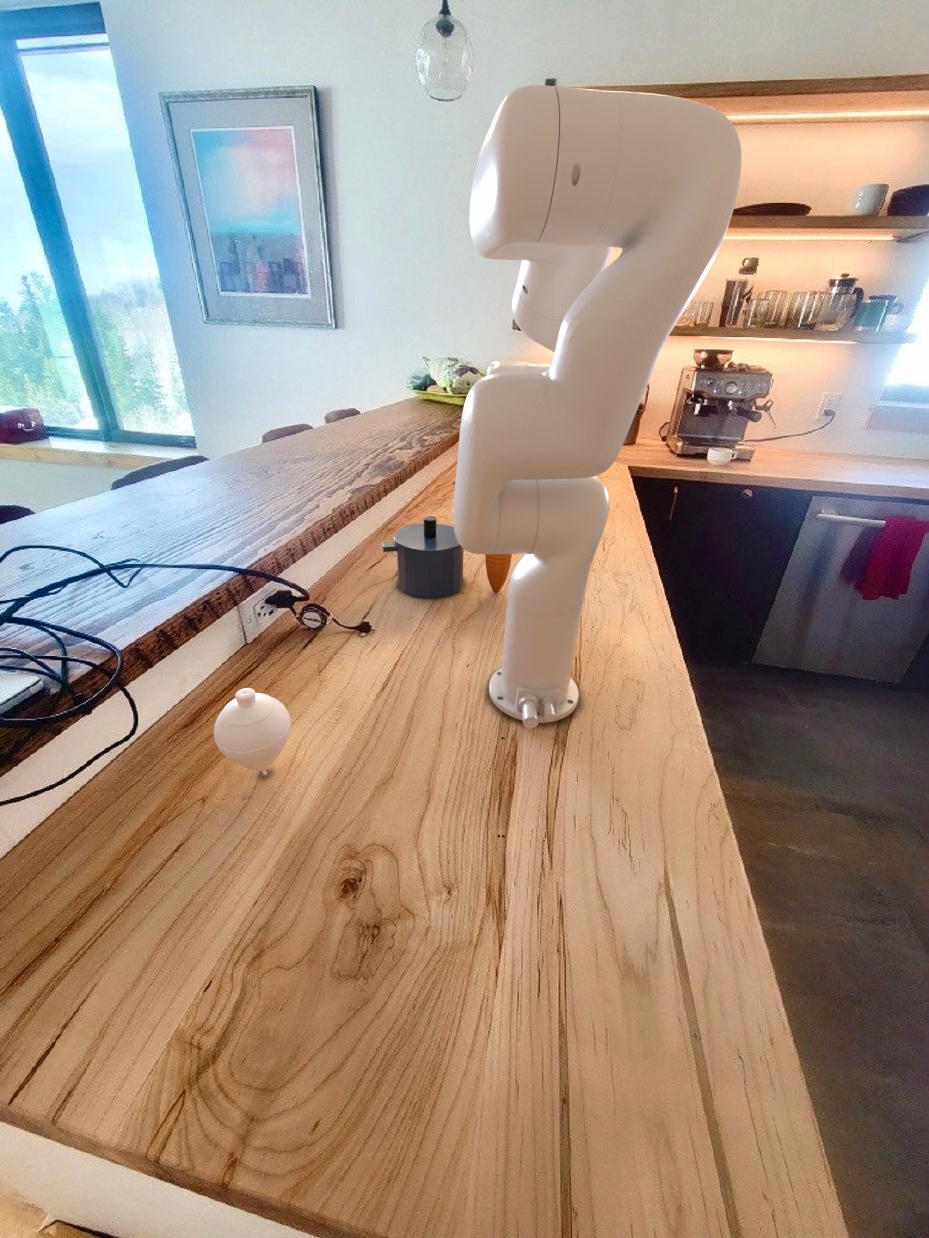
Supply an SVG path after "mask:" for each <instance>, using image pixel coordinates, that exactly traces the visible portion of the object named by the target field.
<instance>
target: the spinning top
mask: <svg viewBox="0 0 929 1238" xmlns="http://www.w3.org/2000/svg"><path fill="white" fill-rule="evenodd" d="M291 720H292V719H291V716H290V712H289V711H288V709H287V707H286V706H285V705H284V704H283V703H282V702H281V701H280V700H278V699H277V698H274V697H272V696H270V695H269V694H267V693H261V692H256V690H254V689H253V688H251V687H244V688H241V689H239V690H238V691H236V693H235V695H234V698H233V699H232V700H230V701H229V702H228V703H227V704H226V705H225V706H224V707H223V709H222V710H221V711H220V713H219V714H218V716H217V718H216V720H215V723H214V726H213V738H214V739H213V740H214V742H215V745H216V747H217V748H218V750H219V751H220V752H221V753H222V754H223V755H224V756H225V757H226V758H227V759H229V760H230V761H232V762H233V763H235V764H237V765H238V766H241V767H244V768H247V769H250V770H253V771H259V772H262V775H263V776H266V775H267V770H268V769H269V768H270V767H271V766H272V764H273V763H274V762H276V760H277V759H278V757H279V756H280V754H281V753H282V752H283V750H284V748H285V746H286V745H287V742H288V739H289V737H290V734H291V728H292V723H291V722H292V721H291Z"/></svg>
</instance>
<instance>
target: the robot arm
mask: <svg viewBox="0 0 929 1238" xmlns="http://www.w3.org/2000/svg"><path fill="white" fill-rule="evenodd" d="M741 174H742V147H741V141H740V138H739V134H738V131H737V129H736V127H735V126H734V123H733V122H732V121H731V120H730V119H729V118H728V117H727V116H726V115H725V114H724V113H722V112H721V111H719V109H716V108H715V107H713V106H710V105H708V104H706V103H703V102H700V101H697V100H692V99H689V98H684V97H679V96H673V95H666V94H659V93H658V94H657V93H650V92H649V93H648V92H639V91H638V92H637V91H636V92H635V91H617V90H604V89H603V90H602V89H592V88H581V87H580V88H579V87H570V86H558V85H526V86H522V87H518V88H516V89H514V90H513V91H512V90H511V92H509V93H508V94H507V95H506V96H505V98H504V99H503V100H502V102H501V103H500V105H499V107H498V108H497V111H496V113H495V115H494V118H493V119H492V122H491V124H490V127H489V129H488V132H487V134H486V136H485V139H484V142H483V144H482V147H481V150H480V152H479V155H478V159H477V162H476V167H475V169H474V174H473V180H472V184H471V190H470V197H469V198H470V199H469V231H470V236H471V241H472V244H473V247H474V249H475V251H476V253H478V255H479V256H481V257H482V258H484V259H489V260H504V261H506V260H507V261H521V263H520V267H519V271H518V275H517V279H516V284H515V287H514V290H513V295H512V301H511V312H512V317H513V320H514V322H515V323H516V326H517V327H518V328H519V329H520V331H521V332H522V333H523V334H524V335H525V336H526V337H528V339H530V340H532V341H533V342H535V343H536V344H538V345H540V346H542V347H544V348H546V350H547V349H548V350H549V351H551V352H554V354H553V358H552V361H551V363H530V362H528V361H522V360H510V359H509V360H507V359H503V360H494V361H492V362H491V363H490V364H489V365H488V367H487V371H486V375H485V376H482V377H481V378H480V379H478V380H477V381H476V382H475V383H474V384H473V385H472V386H471V388H470V389H469V391H468V393H467V395H466V398H465V401H464V404H463V407H462V413H461V420H460V426H459V427H460V428H459V437H458V448H457V460H456V469H455V482H454V491H453V492H454V493H453V503H452V505H453V506H452V527H454V532H455V536H456V539H457V541H458V543H459V544H460V545H461V547H462V548H464V551H466V552H468V553H471V554H476V555H486V554H512V555H523V556H522V557H521V559H520V560H519V561H518V563H517V564H516V566H515V567H514V568H513V571H512V573H511V576H510V578H509V582H508V588H507V599H506V600H507V601H506V612H505V624H504V635H503V646H502V647H503V648H502V657H501V658H502V660H501V667H500V668H498V669H497V670H496V671H495V672H493V674H492V676H491V677H490V679H489V683H488V694H489V698H490V700H491V702H492V703H493V704H494V705H495V707H496V708H497V709H499V711H500V712H502V713H503V714H505V715H507V716H509V717H511V718H514V719H515V720H519V721H522V724H523V725H522V726H523V727H525V728H526V729H529V730H530V729H535V728H536V727H538V725H539V724H546V723H552V722H557V721H560V720H562V719H564V718H567V717H568V716H570V715H571V714H572V713H573V712H574V711H575V709H576V708H577V705H578V702H579V697H580V693H579V688H578V686H577V683H576V682H575V680H574V679H573V678H572V677H571V676H572V671H573V665H574V659H575V653H576V649H577V643H578V642H577V641H578V636H579V631H580V626H581V618H582V615H583V614H582V613H583V608H584V603H585V598H586V597H585V596H586V592H587V587H588V581H589V576H590V572H591V569H592V565H593V562H594V557H595V555H596V552H597V549H598V547H599V544H600V541H601V539H602V536H603V534H604V532H605V528H606V525H607V523H608V518H609V512H610V497H609V492H608V490H607V488H606V486H605V484H604V482H603V481H602V480H601V479H600V478H599V476H600V475H602V474H604V473H606V472H607V471H608V470H609V469H610V468H611V467H612V466H613V464H614V462H615V461H616V460H617V458H618V456H619V454H620V452H621V450H622V447H623V445H624V443H625V441H626V438H627V436H628V433H629V431H630V428H631V426H632V423H633V421H634V418H635V416H636V414H637V411H638V409H639V406H640V404H641V402H642V399H643V396H644V394H645V392H646V389H647V387H648V385H649V382H650V379H651V377H652V375H653V372H654V368H655V366H656V363H657V361H658V358H659V357H660V354H661V352H662V350H663V348H664V345H665V344H666V341H667V340H668V338H669V336H670V335H671V332H672V331H673V329H674V328H675V326H676V324H677V323H678V321H679V320H680V318H681V317H682V315H683V313H684V311H685V310H686V308H687V307H688V306H689V304H690V302H691V301H692V299H693V298H694V296H695V295H696V293H697V291H698V290H699V288H700V286H701V285H702V283H703V281H704V279H705V278H706V276H707V274H708V273H709V272H710V271H709V270H710V269H711V267H712V265H713V263H714V262H715V259H716V257H717V255H718V253H719V251H720V248H721V246H722V243H723V241H724V239H725V237H726V235H727V231H728V228H729V225H730V223H731V219H732V217H733V213H734V210H735V207H736V206H735V205H736V202H737V197H738V193H739V187H740V181H741ZM614 248H619V249H621V253H620V254H619V256H618V257H617V258H615V259H614V260H613V261H612V262H611V263H610V264H608V261H609V259H610V256H611V254H612V252H613V249H614ZM607 264H608V265H607Z"/></svg>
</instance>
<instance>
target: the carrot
mask: <svg viewBox="0 0 929 1238" xmlns="http://www.w3.org/2000/svg"><path fill="white" fill-rule="evenodd" d="M512 555H513V554H485V568H486V576H487V577H486V578H487V580H488V583H489V586H490V588H491V591H492V593H494V594H498V593H499V592H500V591H501V589H502V588H503V587H504V585H505V582H506V581H507V578H508V576H509V572H510V568H511V562H512Z"/></svg>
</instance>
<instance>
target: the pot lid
mask: <svg viewBox="0 0 929 1238" xmlns="http://www.w3.org/2000/svg"><path fill="white" fill-rule="evenodd" d="M437 520H438V519H437V517H436V516H433V515H431V516H429V515H427V516H424V517H423V523H418V524H412V525H411V524H410V525H407V526H405V527H402V528H400V529H399V530H397V531H396V532H395V533H394V534H393V542H395V543H396V544H397V545H398V546H400V547H402V548H404V549H407V550H410V551H415V552H423V553H439V552H446V551H451V550H454V549H457V548H459V547H461V545H460V544H459V543H458V541H457V539H456V536H455V532H454V526H453V525H452V526H451V525H448V524H444V523H443V524H442V523H437V522H438V521H437Z"/></svg>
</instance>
